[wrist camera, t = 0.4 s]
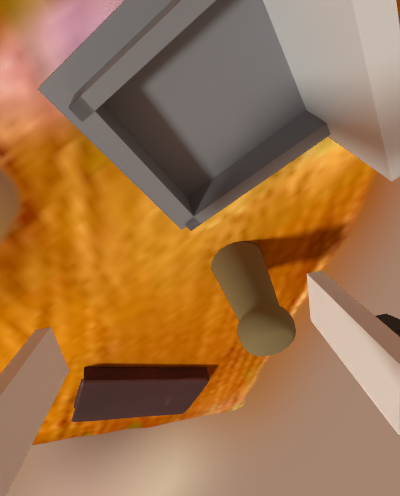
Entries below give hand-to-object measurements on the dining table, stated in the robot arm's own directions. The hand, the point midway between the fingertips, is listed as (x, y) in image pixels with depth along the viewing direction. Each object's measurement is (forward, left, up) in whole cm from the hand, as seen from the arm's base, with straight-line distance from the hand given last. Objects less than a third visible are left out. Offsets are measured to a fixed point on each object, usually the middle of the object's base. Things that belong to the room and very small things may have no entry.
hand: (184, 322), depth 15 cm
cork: (+12, +6, -15) cm, 20 cm away
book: (+35, -12, -15) cm, 40 cm away
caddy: (-6, +5, -14) cm, 16 cm away
